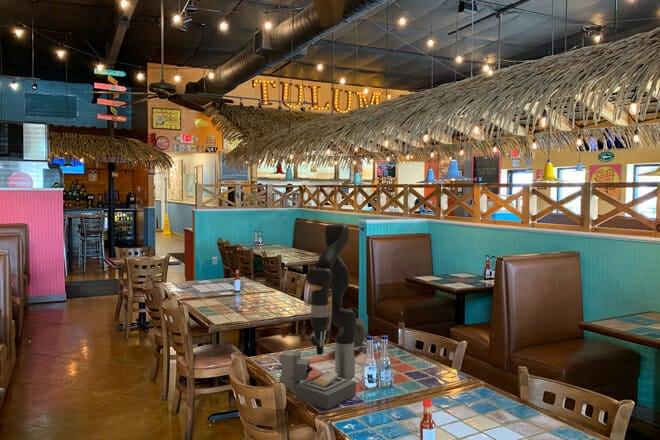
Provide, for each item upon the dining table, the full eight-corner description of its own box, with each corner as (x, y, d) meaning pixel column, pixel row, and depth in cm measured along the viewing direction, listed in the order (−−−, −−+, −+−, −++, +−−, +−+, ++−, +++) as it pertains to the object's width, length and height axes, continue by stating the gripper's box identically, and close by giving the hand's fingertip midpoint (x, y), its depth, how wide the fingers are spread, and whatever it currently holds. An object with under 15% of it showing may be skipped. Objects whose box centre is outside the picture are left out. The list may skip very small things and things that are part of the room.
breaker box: (324, 385, 235) (324, 371, 235) (355, 395, 224) (355, 379, 224) (295, 398, 220) (295, 383, 219) (328, 409, 209) (328, 393, 208)
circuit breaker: (309, 388, 232) (309, 356, 231) (279, 386, 234) (279, 354, 234) (313, 383, 239) (313, 351, 238) (284, 380, 242) (284, 349, 241)
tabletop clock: (365, 349, 294) (365, 306, 293) (363, 353, 285) (363, 310, 284) (340, 347, 297) (340, 305, 296) (338, 352, 288) (338, 308, 287)
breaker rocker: (327, 373, 228) (327, 370, 227) (338, 376, 224) (338, 373, 224) (313, 384, 220) (313, 381, 220) (324, 387, 216) (324, 384, 216)
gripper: (322, 310, 224) (322, 349, 225) (303, 316, 214) (303, 356, 215) (336, 313, 220) (336, 352, 221) (316, 318, 209) (316, 360, 210)
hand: (319, 354), depth 218 cm, fingers closed
